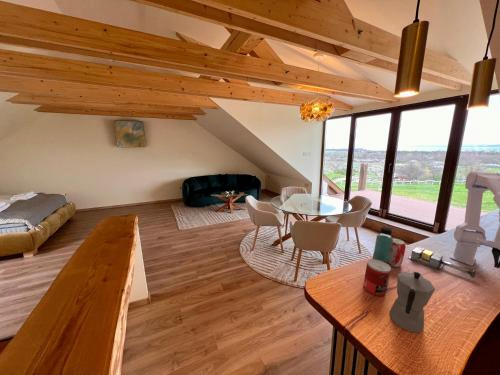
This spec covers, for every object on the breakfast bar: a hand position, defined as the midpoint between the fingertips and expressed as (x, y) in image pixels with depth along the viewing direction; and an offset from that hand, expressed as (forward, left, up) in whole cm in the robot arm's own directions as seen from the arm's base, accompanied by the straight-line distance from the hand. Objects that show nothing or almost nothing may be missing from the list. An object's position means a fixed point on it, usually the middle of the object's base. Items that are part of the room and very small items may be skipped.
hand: (496, 266), depth 85 cm
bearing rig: (0, -21, -9) cm, 23 cm away
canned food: (+42, -27, -9) cm, 51 cm away
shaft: (0, -12, -8) cm, 14 cm away
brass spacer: (0, -21, -9) cm, 23 cm away
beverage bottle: (+26, -32, -9) cm, 42 cm away
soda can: (+16, -30, -9) cm, 35 cm away
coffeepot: (+50, -14, -9) cm, 53 cm away
